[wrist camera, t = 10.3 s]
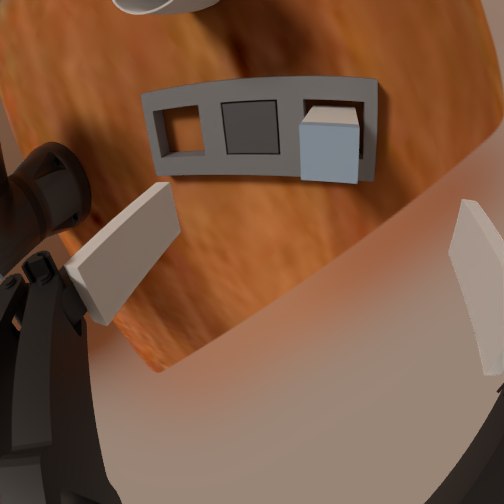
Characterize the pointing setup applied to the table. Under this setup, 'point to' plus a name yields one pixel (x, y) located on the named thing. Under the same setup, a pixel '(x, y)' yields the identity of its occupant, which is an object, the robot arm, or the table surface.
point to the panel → (255, 123)
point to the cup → (163, 6)
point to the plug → (330, 144)
